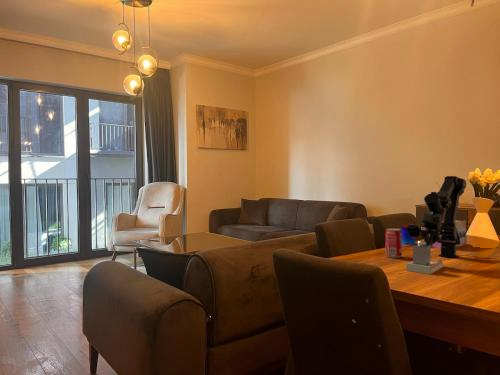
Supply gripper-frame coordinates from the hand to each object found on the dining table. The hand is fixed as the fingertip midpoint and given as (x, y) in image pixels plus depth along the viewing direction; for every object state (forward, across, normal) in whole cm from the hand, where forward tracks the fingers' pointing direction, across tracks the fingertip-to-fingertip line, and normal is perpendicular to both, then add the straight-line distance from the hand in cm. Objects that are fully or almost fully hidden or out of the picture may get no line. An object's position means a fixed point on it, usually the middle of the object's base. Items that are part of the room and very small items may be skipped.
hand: (426, 248), depth 159 cm
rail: (+6, 0, +5) cm, 8 cm away
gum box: (-36, -9, +49) cm, 62 cm away
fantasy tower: (-28, -26, +41) cm, 56 cm away
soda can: (-3, -19, +15) cm, 24 cm away
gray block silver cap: (+8, 0, +1) cm, 8 cm away
